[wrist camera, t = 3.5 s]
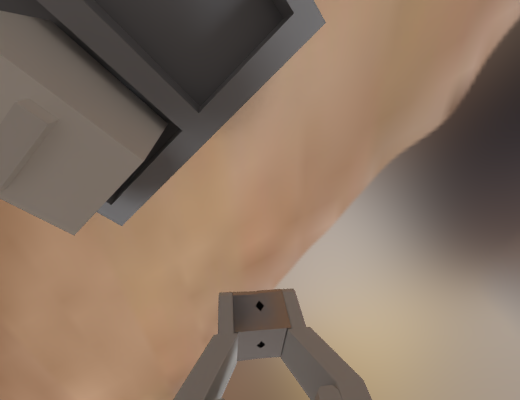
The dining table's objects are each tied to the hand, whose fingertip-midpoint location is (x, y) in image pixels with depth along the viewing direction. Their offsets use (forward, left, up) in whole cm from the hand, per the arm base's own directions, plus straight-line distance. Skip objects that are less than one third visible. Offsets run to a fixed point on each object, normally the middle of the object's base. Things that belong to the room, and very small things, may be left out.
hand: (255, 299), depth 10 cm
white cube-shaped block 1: (-1, +9, -6) cm, 11 cm away
